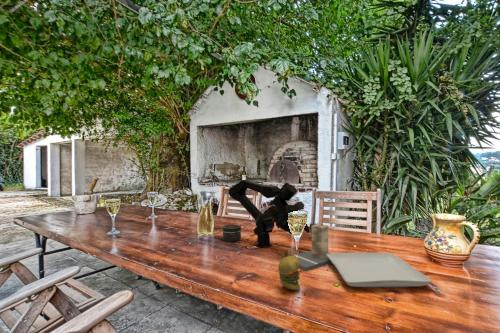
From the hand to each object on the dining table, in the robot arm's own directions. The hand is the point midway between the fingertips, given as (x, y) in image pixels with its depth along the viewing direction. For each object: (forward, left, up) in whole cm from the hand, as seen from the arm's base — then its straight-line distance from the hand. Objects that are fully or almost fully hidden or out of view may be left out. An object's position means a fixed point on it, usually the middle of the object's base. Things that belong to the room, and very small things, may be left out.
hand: (303, 234), depth 122 cm
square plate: (+30, +5, -10) cm, 32 cm away
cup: (-15, +25, -10) cm, 31 cm away
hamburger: (+21, -27, -10) cm, 36 cm away
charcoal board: (+7, -2, -9) cm, 12 cm away
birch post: (+8, +2, -8) cm, 11 cm away
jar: (-41, -13, -10) cm, 44 cm away
